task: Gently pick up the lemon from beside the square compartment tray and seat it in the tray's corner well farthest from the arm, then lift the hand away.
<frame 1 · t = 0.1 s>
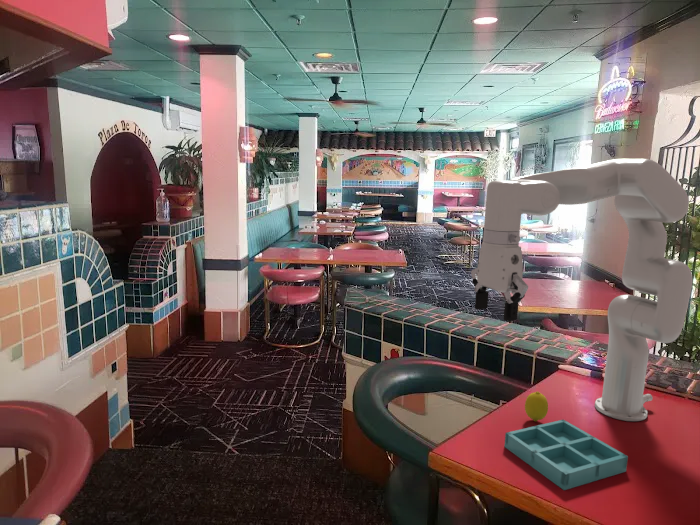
hand: (495, 314, 117), 31 cm above the table, tool pointing down, fingers open, 9 cm apart
square compartment tray: (562, 458, 116), on the table
lemon: (534, 421, 134), on the table
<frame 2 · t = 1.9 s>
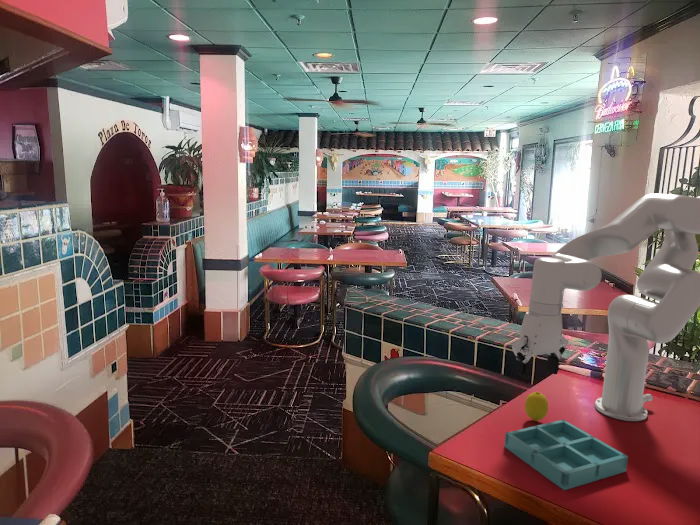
hand: (537, 374, 131), 13 cm above the table, tool pointing down, fingers open, 9 cm apart
nothing on the table moved.
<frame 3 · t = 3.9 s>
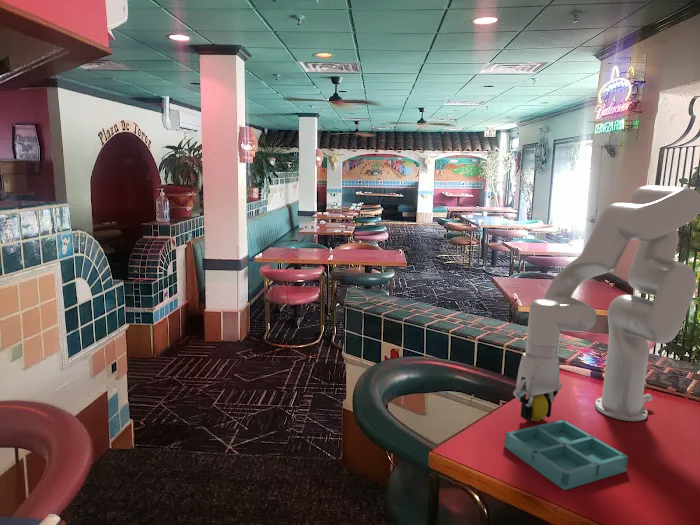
hand: (535, 416, 133), 1 cm above the table, tool pointing down, fingers closed on lemon, 5 cm apart
lemon: (534, 421, 134), on the table, touching gripper
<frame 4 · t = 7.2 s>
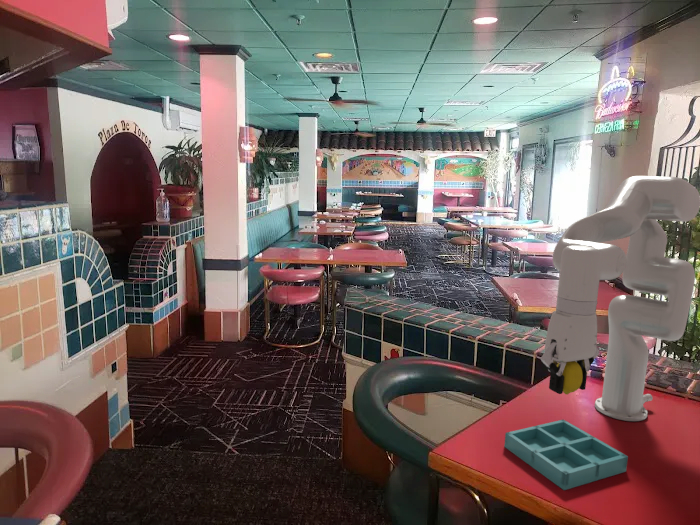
hand: (567, 388, 110), 18 cm above the table, tool pointing down, fingers closed on lemon, 5 cm apart
lemon: (566, 395, 111), point 16 cm above the table, touching gripper
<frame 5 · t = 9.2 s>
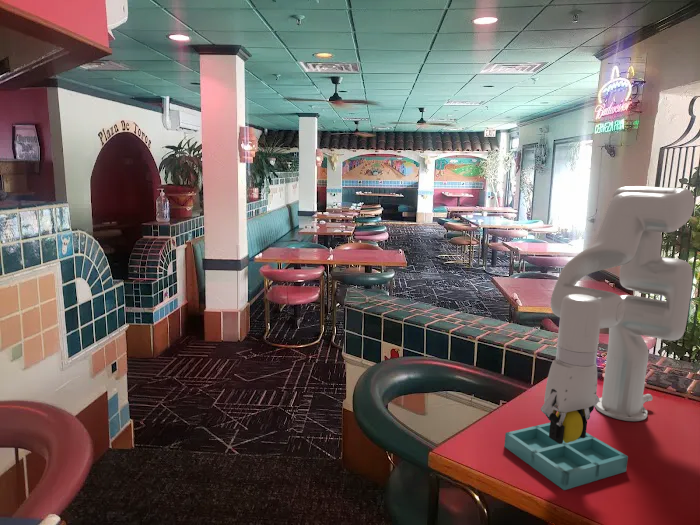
hand: (567, 437, 109), 8 cm above the table, tool pointing down, fingers closed on lemon, 5 cm apart
lemon: (566, 443, 110), point 7 cm above the table, touching gripper
when the fingers open (4 cm above the table, at t = 10.8 s): lemon drops 2 cm, resting on square compartment tray.
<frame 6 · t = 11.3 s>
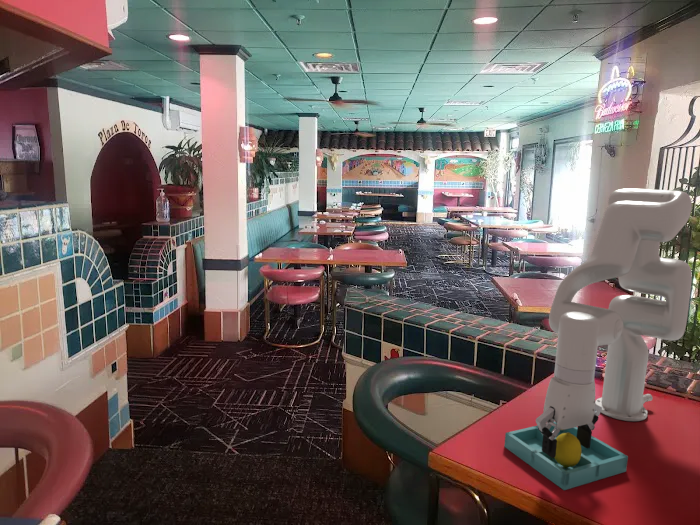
hand: (565, 449, 110), 5 cm above the table, tool pointing down, fingers open, 9 cm apart
lemon: (565, 468, 111), point 1 cm above the table, touching square compartment tray
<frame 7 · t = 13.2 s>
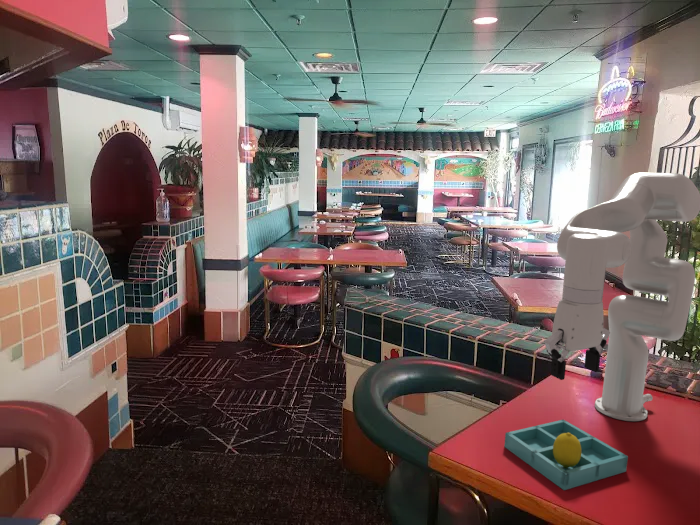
hand: (574, 373, 110), 21 cm above the table, tool pointing down, fingers open, 9 cm apart
nothing on the table moved.
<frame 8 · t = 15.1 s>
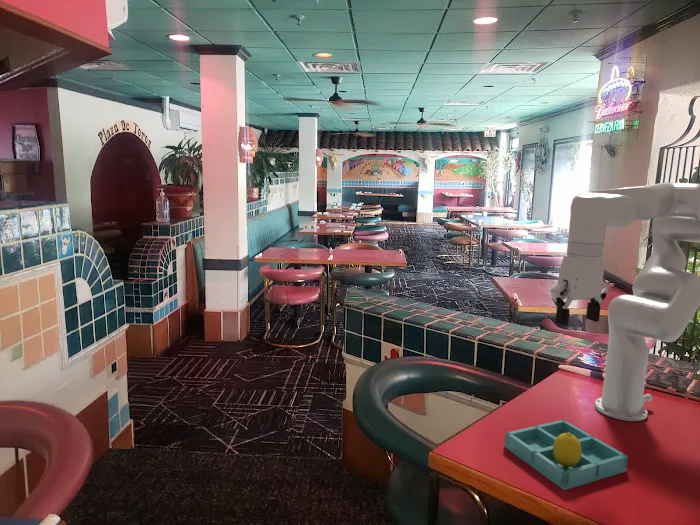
hand: (577, 322, 122), 28 cm above the table, tool pointing down, fingers open, 9 cm apart
nothing on the table moved.
at the end: lemon 0.5 cm from the target spot on the square compartment tray, point 0.8 cm above the square compartment tray's base; the gripper is holding nothing; lemon tilted 0° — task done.
